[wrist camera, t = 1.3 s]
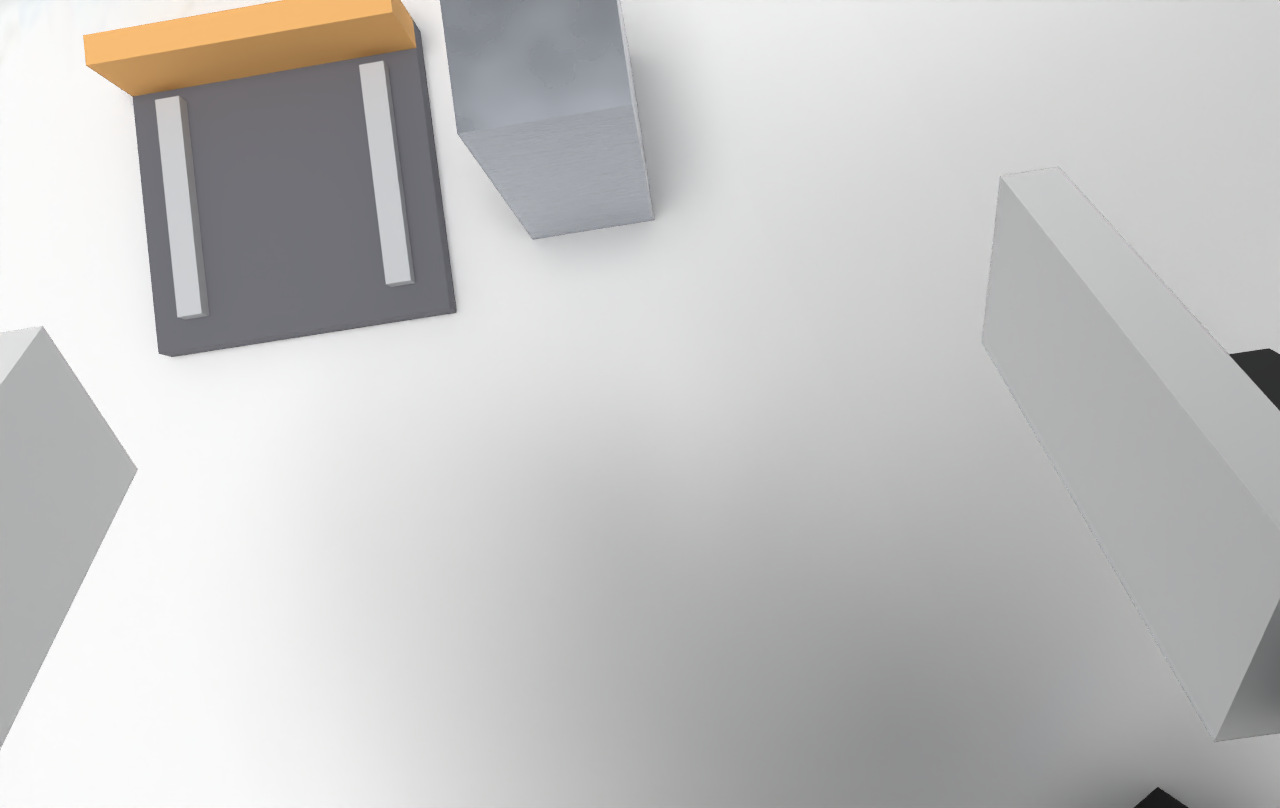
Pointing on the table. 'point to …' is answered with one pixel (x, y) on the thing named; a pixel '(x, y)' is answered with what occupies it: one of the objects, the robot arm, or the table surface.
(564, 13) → the alu block
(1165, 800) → the electrical component
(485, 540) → the table surface
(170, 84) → the coupler dock
